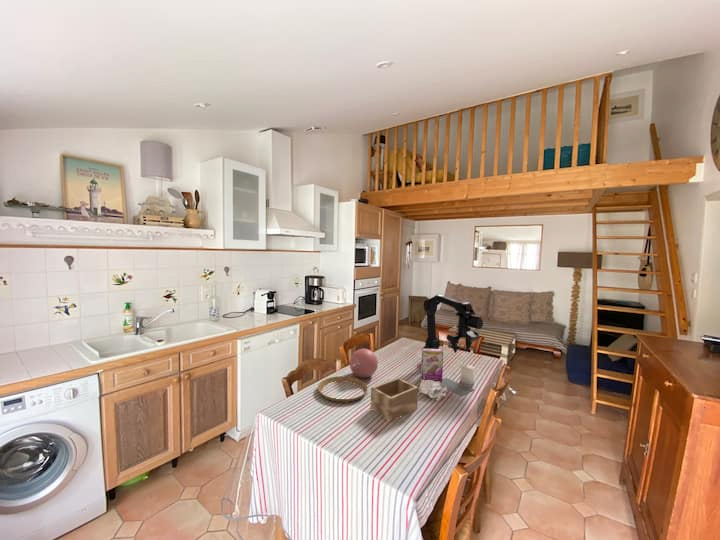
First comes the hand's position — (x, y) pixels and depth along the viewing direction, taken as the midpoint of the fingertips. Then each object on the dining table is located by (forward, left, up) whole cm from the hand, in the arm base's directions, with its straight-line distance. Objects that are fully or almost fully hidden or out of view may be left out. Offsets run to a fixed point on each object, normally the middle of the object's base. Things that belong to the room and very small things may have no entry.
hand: (461, 351), depth 169 cm
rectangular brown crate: (+3, -57, -14) cm, 59 cm away
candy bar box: (-6, -18, -14) cm, 24 cm away
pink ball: (-31, -48, -14) cm, 59 cm away
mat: (+6, -18, -14) cm, 23 cm away
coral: (+3, -39, -13) cm, 41 cm away
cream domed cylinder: (+7, -4, -14) cm, 16 cm away
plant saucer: (-23, -66, -15) cm, 71 cm away
